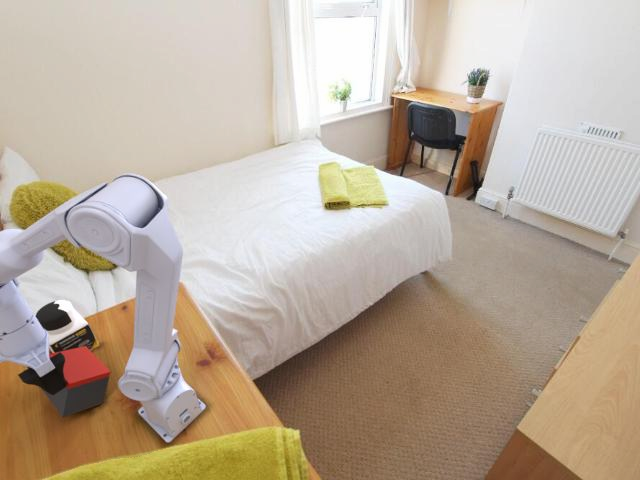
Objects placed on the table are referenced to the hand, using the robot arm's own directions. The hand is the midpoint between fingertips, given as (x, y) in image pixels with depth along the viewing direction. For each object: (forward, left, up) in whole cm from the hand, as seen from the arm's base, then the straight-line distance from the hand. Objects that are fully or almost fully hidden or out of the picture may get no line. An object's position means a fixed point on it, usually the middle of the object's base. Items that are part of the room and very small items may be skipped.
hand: (49, 378), depth 58 cm
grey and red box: (0, -1, -6) cm, 7 cm away
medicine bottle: (+13, -7, -8) cm, 17 cm away
